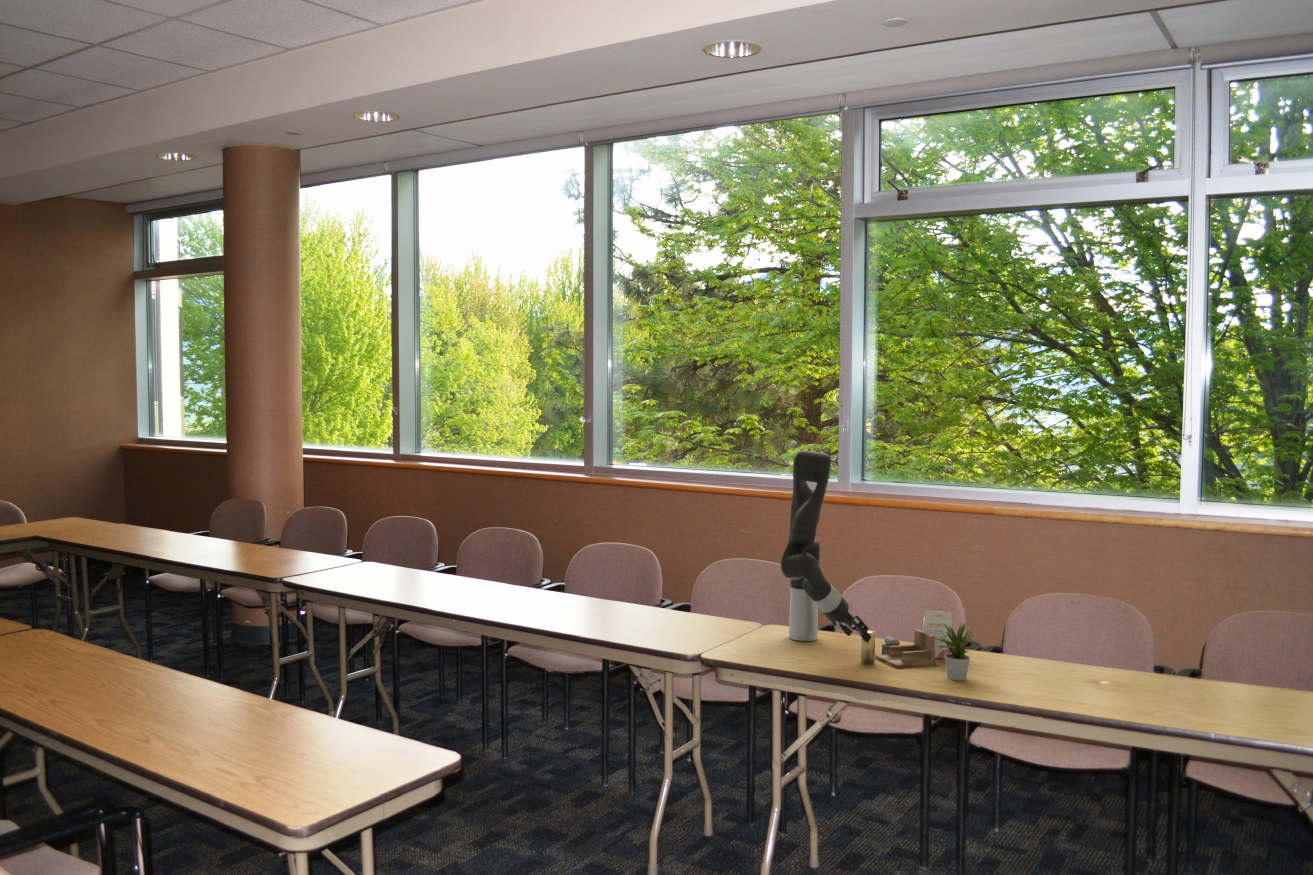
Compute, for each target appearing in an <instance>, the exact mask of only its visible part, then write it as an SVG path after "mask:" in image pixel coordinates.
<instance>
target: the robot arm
mask: <svg viewBox="0 0 1313 875" xmlns="http://www.w3.org/2000/svg"><path fill="white" fill-rule="evenodd" d="M831 468H832V459H831V455H830V454H828V453H826V452H818V451H814V450H813V451H812V450H806V449H803V450H798V451H797V452H796V453H795V455H794V458H793V467H792V479H793V480H792V487H793V488H792V495H791V496H792V497H791V504H790V520H789V534H788V539H787V540H788V541H787V545H786V547H785V549H784V552H783V554H782V556H781V561H780V570H781V572H782V575H783V576H784V577H785V578H787V579H790V587H789V588H790V589H789V590H790V593H789V596H790V598H789V599H790V601H789V602H790V603H789V618H788V619H789V622H788V624H789V625H788V626H789V628H788V636H789V639H791V640H793V641H798V642H814V641H816V640H818V626H819V623H818V620H819V616H818V615H819V611H820V612H821V613H822V614H823V615H824V617H825V618H826V619H827V620H829V621H830V622H831V623H832V625H833V626H835V627H837V628H838V629H841V630H842V631H843V632H844V634H845V635H846V636H847V637H848V636H849V637H850V636H851V635H852V634H853V633H854V632H856V633H857V634H858V635H859V636H860V637H861V639H862V638H863V639H864V640H865V641H866V642H869V640H870V639H871V636H870V634H869V633H868V632H867V630H870V628H869V626H868V625H867V624H865V622H864V621H863V620H862V619H861V618H860V616H858V615H855V616H854V615H853V614H852V613H851V612H849V609H850V608H849V603H848V602H847V600H846V599H845V598H844V597H843V596H842V595H841V594H840V593H839V591H838V590H837V589H836V587H834V586H833V585H832V584H831V583H830V582H829V580H828V579H827V578H826V577H825V576H824V574H823V572H822V569H821V567H820V556H821V547H820V542H819V541H818V539H816V535H817V528H818V524H819V521H820V515H821V509H822V505H823V502H824V498H825V495H826V492H827V487H828V483H829V479H830V478H829V477H830V475H831V470H832V469H831ZM807 482H809V483H816V485H815V489H814V490H813V489H812V488H811V487H810V486H809V485H808V483H807Z"/></svg>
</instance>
